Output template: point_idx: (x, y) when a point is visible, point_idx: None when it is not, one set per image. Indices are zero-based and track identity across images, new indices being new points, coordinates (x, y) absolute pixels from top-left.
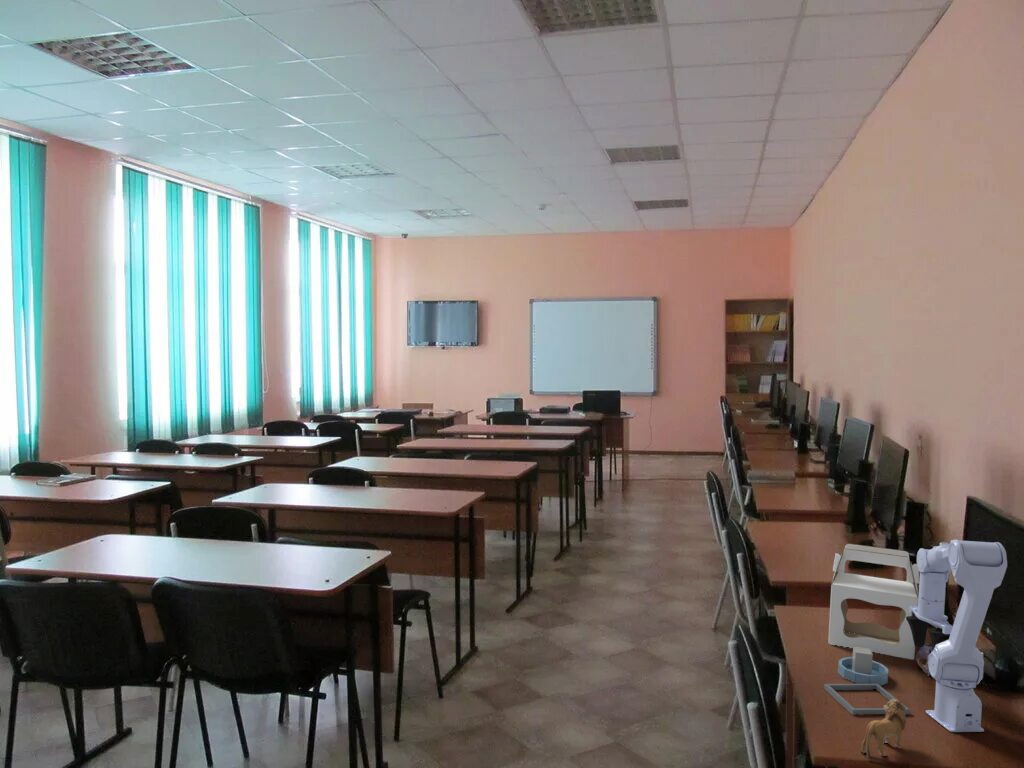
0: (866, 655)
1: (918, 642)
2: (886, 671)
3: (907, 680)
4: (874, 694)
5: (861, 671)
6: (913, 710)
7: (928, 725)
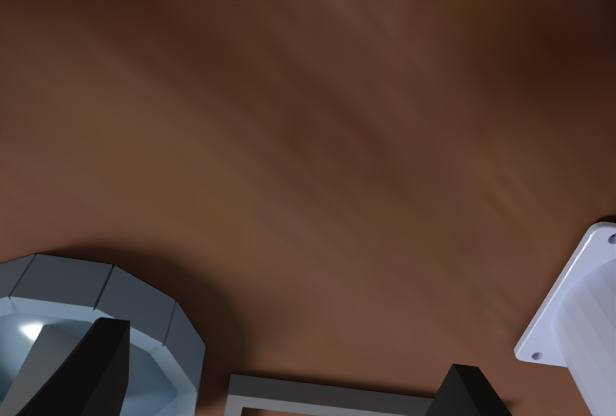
0: None
1: (115, 407)
2: (136, 337)
3: (148, 176)
4: None
5: None
6: None
7: None
